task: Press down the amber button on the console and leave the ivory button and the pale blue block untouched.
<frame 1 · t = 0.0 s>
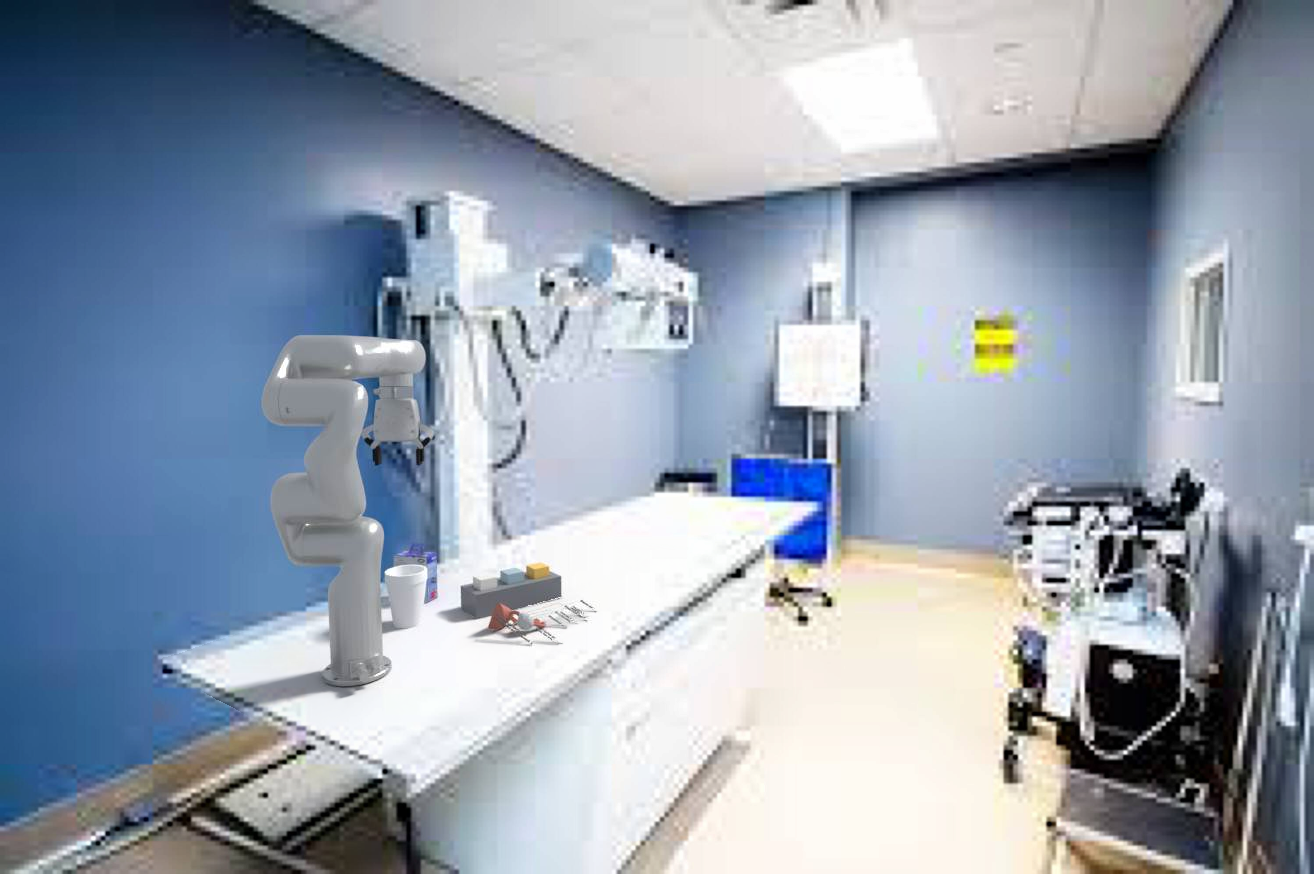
hand: (399, 464, 164), 37 cm above the table, tool pointing down, fingers open, 9 cm apart
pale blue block: (512, 578, 175), point 7 cm above the table, slide at 0.0 cm
anatomical diagram: (550, 627, 161), on the table
amber button: (537, 573, 179), point 7 cm above the table, slide at 0.0 cm
ink cartridge box: (416, 599, 178), on the table
console: (512, 603, 175), on the table
foam cup: (407, 624, 161), on the table
ivory button: (485, 584, 170), point 7 cm above the table, slide at 0.0 cm
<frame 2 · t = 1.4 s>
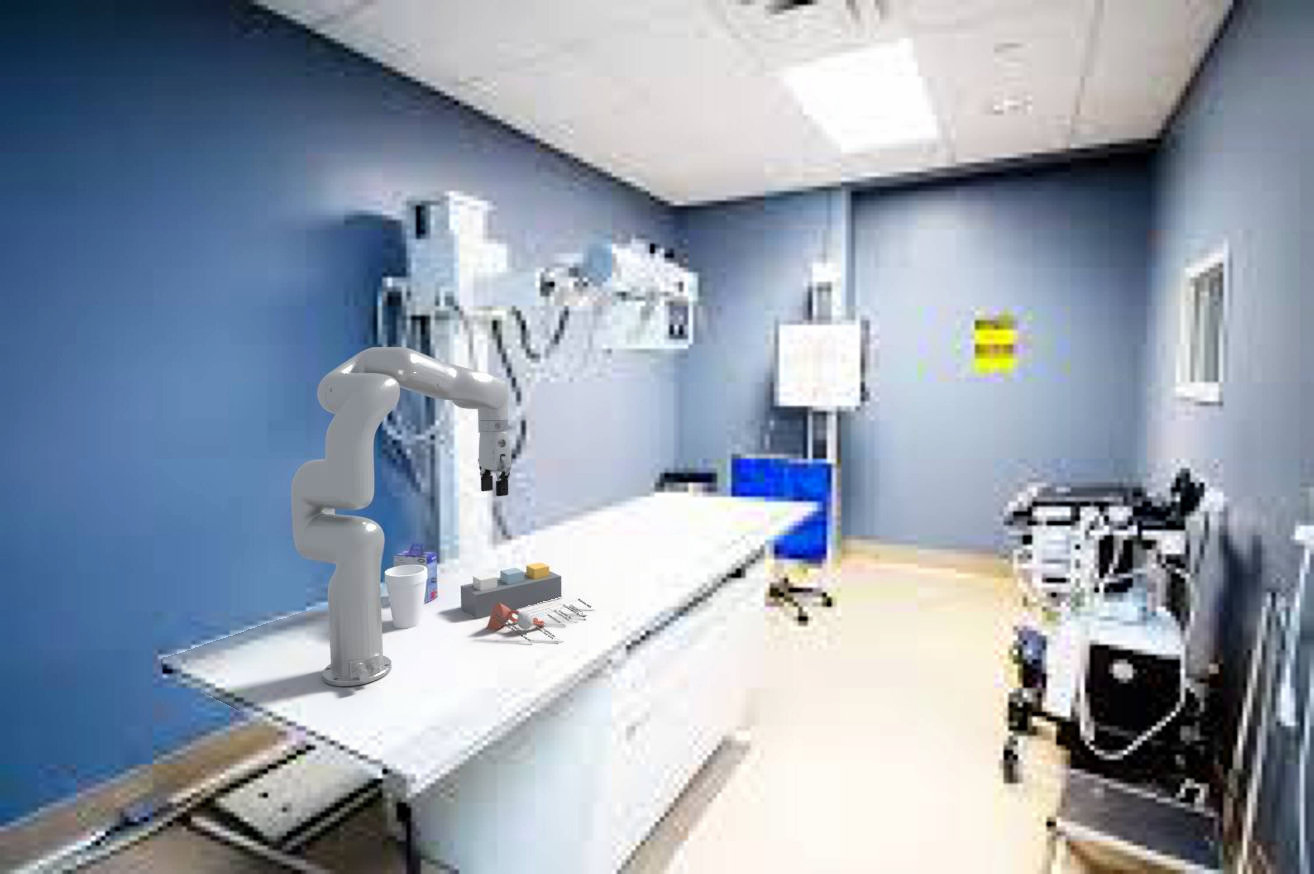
hand: (494, 492, 177), 28 cm above the table, tool pointing down, fingers open, 8 cm apart
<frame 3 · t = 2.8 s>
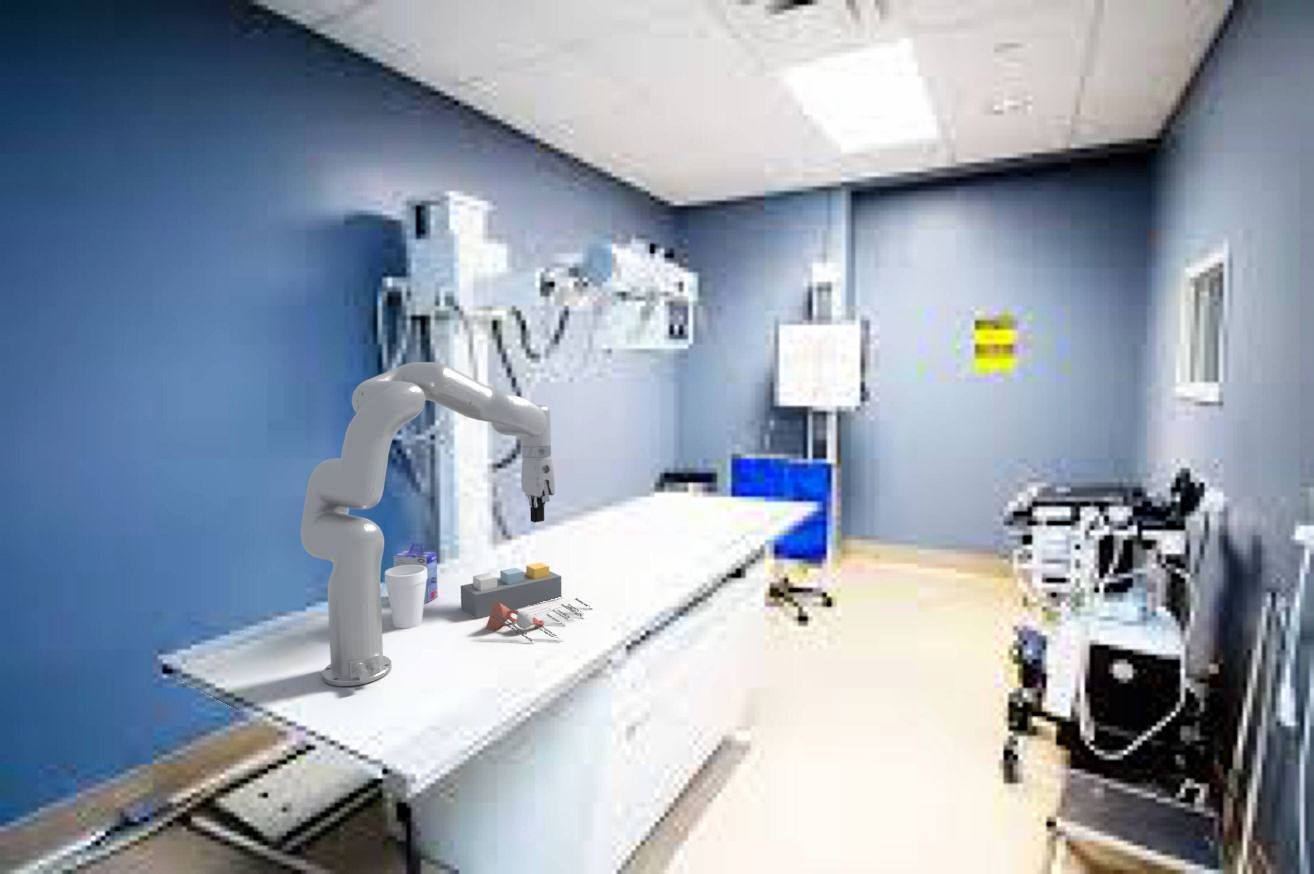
hand: (537, 521, 178), 21 cm above the table, tool pointing down, fingers closed
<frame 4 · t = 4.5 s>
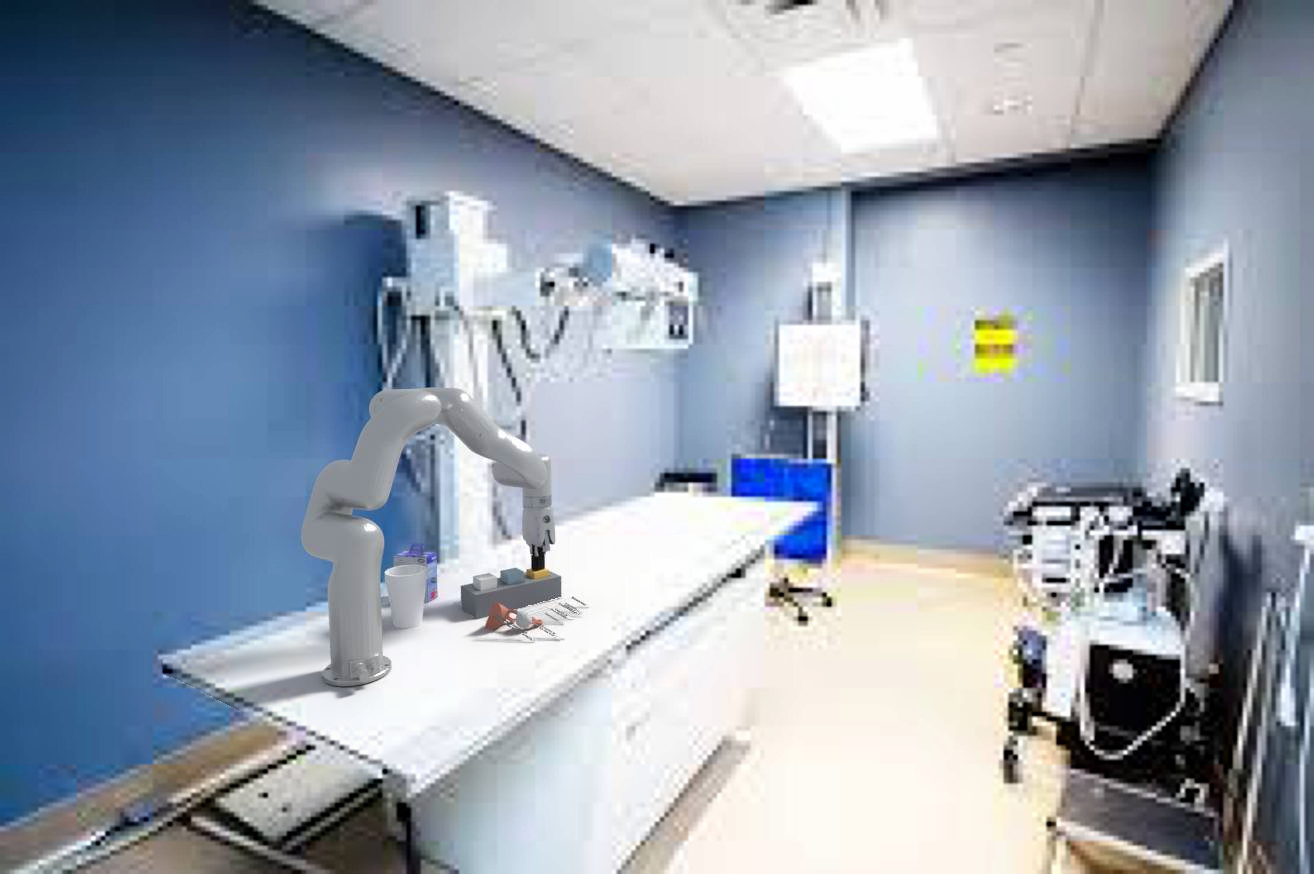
hand: (538, 569, 179), 8 cm above the table, tool pointing down, fingers closed
amber button: (537, 577, 179), point 6 cm above the table, slide at 1.1 cm, touching gripper
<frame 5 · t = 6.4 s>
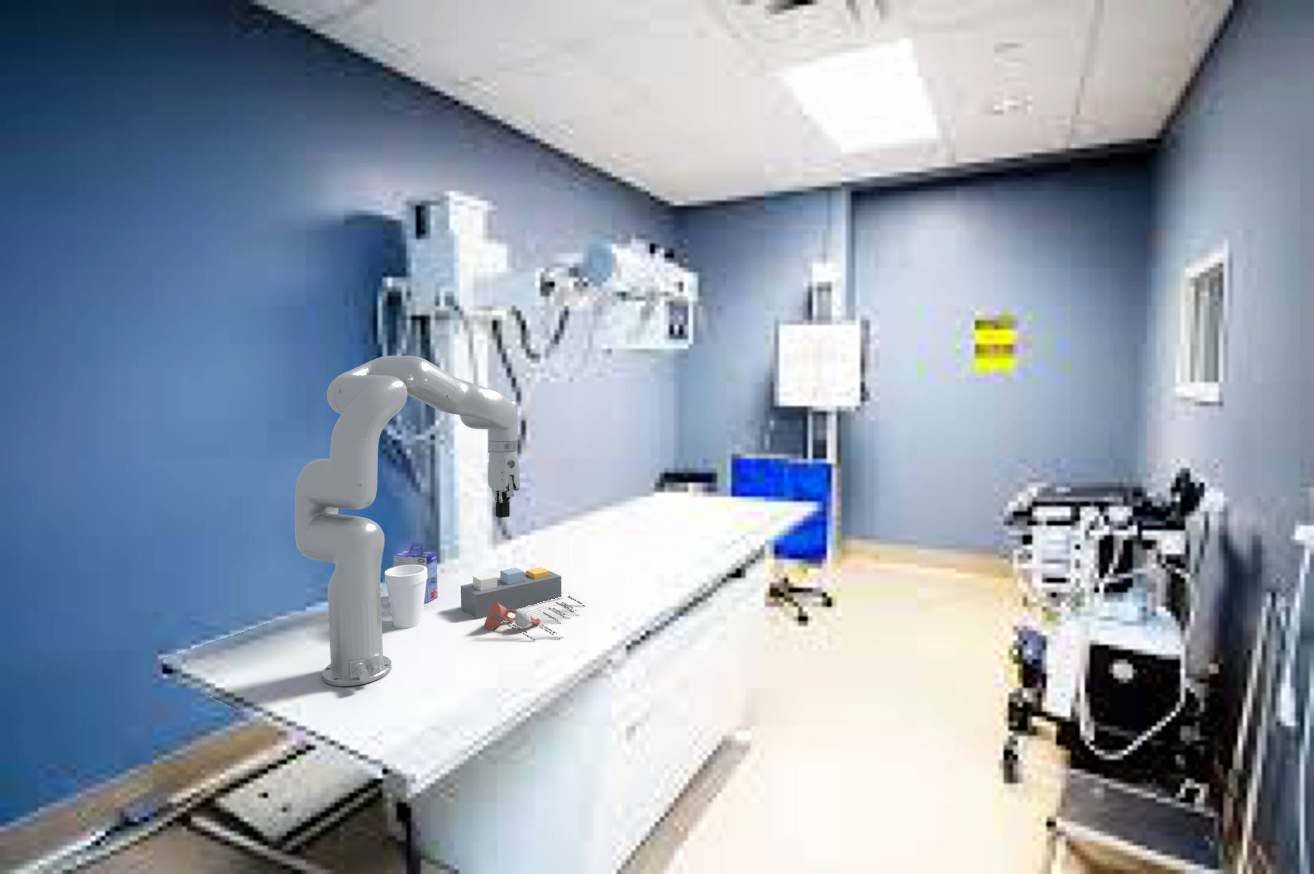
hand: (502, 516, 177), 22 cm above the table, tool pointing down, fingers closed
amber button: (537, 577, 180), point 5 cm above the table, slide at 1.3 cm
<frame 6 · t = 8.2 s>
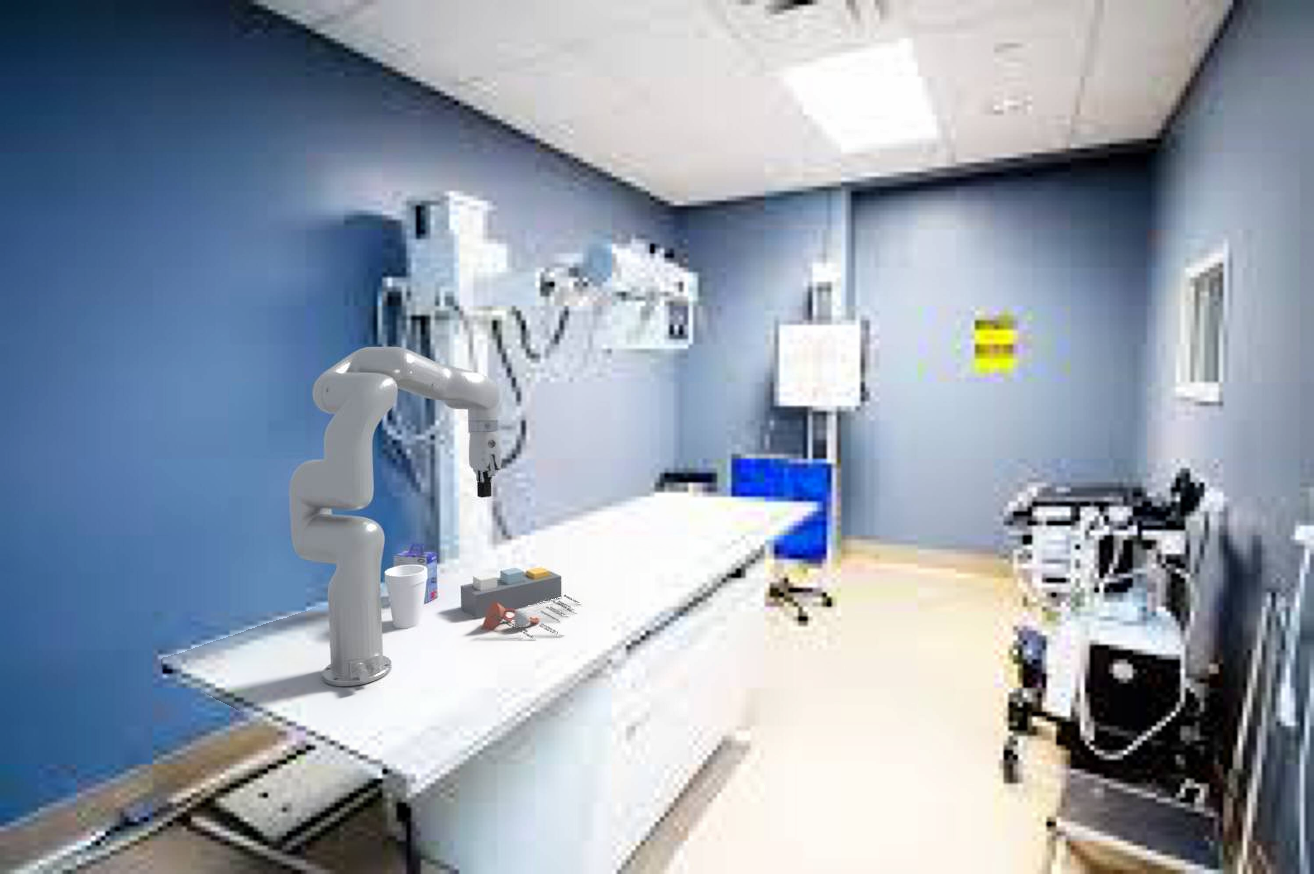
hand: (484, 496, 178), 27 cm above the table, tool pointing down, fingers closed
at the end: amber button slide at 1.3 cm; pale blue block slide at 0.0 cm; ivory button slide at 0.0 cm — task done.
